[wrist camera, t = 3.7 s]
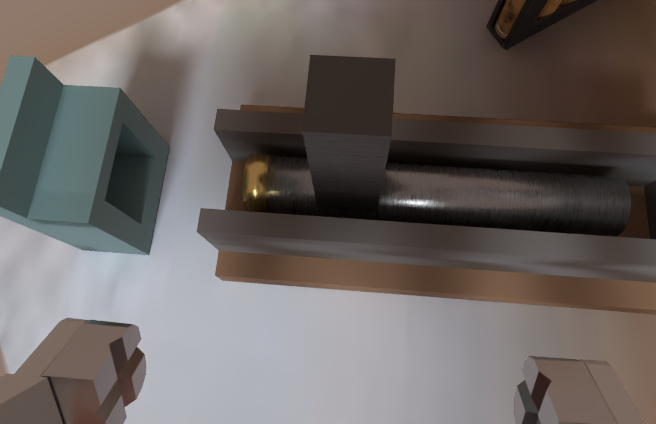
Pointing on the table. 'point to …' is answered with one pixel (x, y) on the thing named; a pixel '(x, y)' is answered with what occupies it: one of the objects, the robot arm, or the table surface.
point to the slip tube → (412, 170)
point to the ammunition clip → (528, 17)
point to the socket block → (78, 161)
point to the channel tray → (445, 240)
